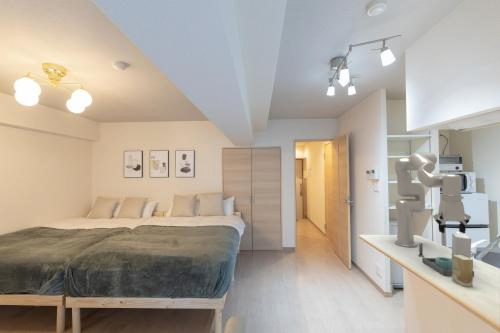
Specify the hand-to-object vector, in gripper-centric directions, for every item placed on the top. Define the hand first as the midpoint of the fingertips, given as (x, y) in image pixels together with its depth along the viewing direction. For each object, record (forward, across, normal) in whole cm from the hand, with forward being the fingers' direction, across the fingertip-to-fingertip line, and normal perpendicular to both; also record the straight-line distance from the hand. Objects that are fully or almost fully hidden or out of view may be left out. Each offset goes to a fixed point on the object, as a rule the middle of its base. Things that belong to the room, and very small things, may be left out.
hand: (452, 232), depth 125 cm
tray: (+20, 0, -4) cm, 21 cm away
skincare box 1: (+21, -13, -13) cm, 28 cm away
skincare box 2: (+20, +4, +12) cm, 24 cm away
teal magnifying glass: (+20, 0, -3) cm, 20 cm away
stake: (+20, +2, -23) cm, 31 cm away
